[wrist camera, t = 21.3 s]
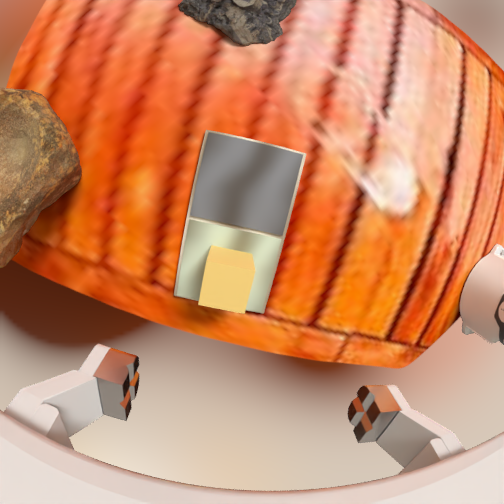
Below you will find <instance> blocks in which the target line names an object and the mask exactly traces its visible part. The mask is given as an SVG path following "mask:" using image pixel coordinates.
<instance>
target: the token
mask: <svg viewBox="0 0 504 504" xmlns="http://www.w3.org/2000/svg"><path fill="white" fill-rule="evenodd" d="M255 271H256V270H255V265H254V260H253V255H252V254H251V253H246V252H241V251H237V250H232V249H227V248H223V247H218V246H213V245H211V248H210V251H209V254H208V257H207V261H206V266H205V271H204V276H203V281H202V287H201V292H200V298H199V303H198V305H202V306H207V307H212V308H217V309H222V310H227V311H232V312H237V313H243V314H245V310H246V306H247V302H248V299H249V295H250V291H251V287H252V283H253V279H254V275H255Z"/></svg>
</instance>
